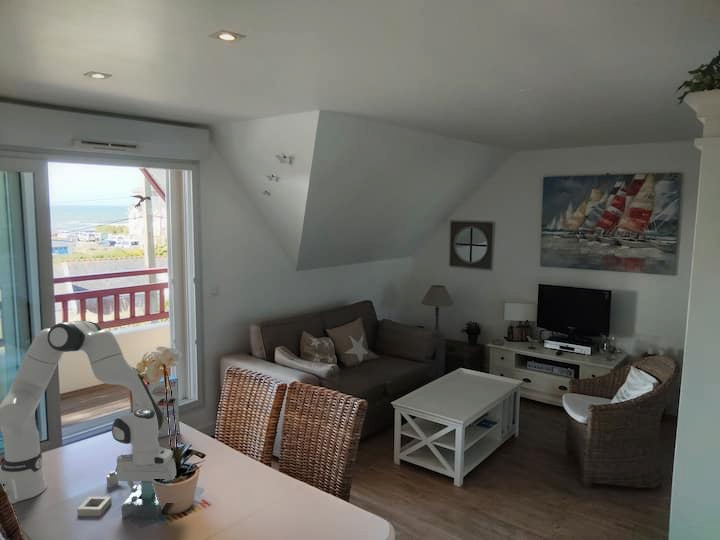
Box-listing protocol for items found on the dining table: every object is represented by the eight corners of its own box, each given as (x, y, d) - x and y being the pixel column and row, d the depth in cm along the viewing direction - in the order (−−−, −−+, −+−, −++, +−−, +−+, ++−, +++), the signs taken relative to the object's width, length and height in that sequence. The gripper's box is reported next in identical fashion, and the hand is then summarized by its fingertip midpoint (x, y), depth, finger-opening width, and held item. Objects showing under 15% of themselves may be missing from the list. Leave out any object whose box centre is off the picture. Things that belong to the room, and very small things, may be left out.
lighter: (109, 487, 201) (109, 468, 200) (106, 486, 202) (105, 467, 201) (125, 479, 207) (124, 460, 206) (121, 478, 208) (120, 459, 207)
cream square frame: (77, 515, 183) (77, 508, 182) (89, 502, 191) (89, 496, 190) (100, 516, 183) (100, 509, 182) (111, 503, 191) (111, 496, 190)
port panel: (122, 518, 182) (121, 504, 181) (139, 496, 195) (138, 483, 195) (156, 518, 181) (156, 505, 181) (171, 496, 195) (171, 484, 195)
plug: (141, 506, 187) (140, 479, 186) (145, 500, 191) (144, 474, 190) (151, 506, 187) (150, 479, 186) (155, 501, 191) (154, 474, 190)
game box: (177, 429, 254) (175, 375, 251) (180, 433, 250) (178, 378, 246) (131, 439, 243) (128, 382, 240) (133, 443, 238) (131, 385, 235)
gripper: (112, 458, 183) (114, 496, 185) (170, 459, 183) (172, 497, 185) (120, 450, 189) (122, 486, 191) (177, 451, 189) (178, 487, 191)
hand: (147, 491), depth 188 cm, fingers open, 8 cm apart
